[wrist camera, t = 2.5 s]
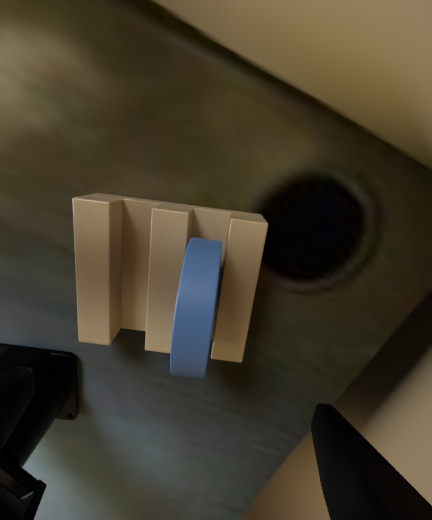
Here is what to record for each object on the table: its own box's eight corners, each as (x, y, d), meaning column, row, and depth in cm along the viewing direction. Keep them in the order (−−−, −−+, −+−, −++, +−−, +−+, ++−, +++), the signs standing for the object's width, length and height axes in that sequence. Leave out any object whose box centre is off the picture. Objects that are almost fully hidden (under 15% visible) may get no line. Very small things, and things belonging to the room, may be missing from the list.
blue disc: (209, 327, 19) (200, 414, 12) (186, 324, 19) (164, 409, 12) (223, 228, 16) (221, 268, 10) (196, 224, 16) (177, 263, 10)
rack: (239, 335, 20) (241, 363, 17) (99, 317, 20) (78, 342, 17) (261, 214, 17) (268, 223, 14) (97, 192, 17) (71, 197, 14)
